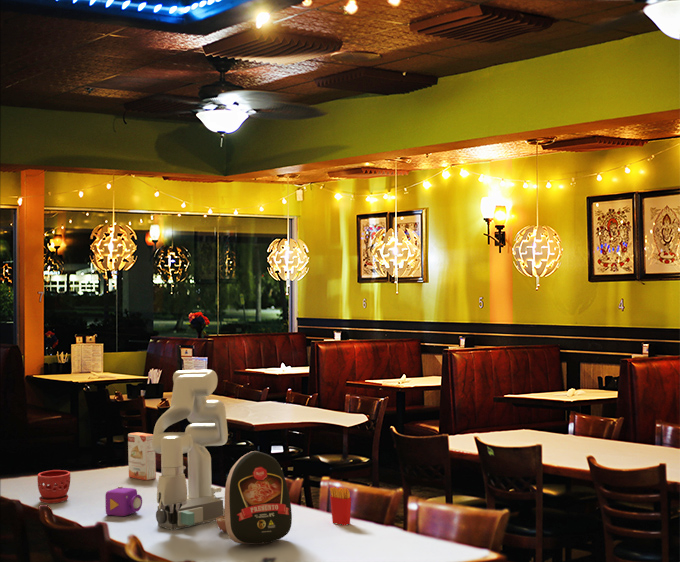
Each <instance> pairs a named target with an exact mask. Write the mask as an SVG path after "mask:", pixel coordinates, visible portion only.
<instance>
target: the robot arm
mask: <svg viewBox="0 0 680 562" xmlns="http://www.w3.org/2000/svg"><path fill="white" fill-rule="evenodd" d="M172 381H173V382H172V383H173V387H172V394H171V400H170V406H169V408H168V409H167V410H166V411H165V412H164V413H162V414H161V416H160V417H159V418H158V419H157V420H156V423H155V426H154V428H153V440H152V447H153V450H154V451H155V454H160V456H161V457H160V459H161V460H160V461H161V462H160V463H161V464H160V465H161V471H160V472H161V474H160V475H159V477H158V481H157V491H156V502H157V504H158V506H159V508H160V509H165V510H166V511H167V512H168V521H169V523H170V524H177V520H178V512H179V509H180V508H181V506H183V505H185V504H187V501H186V500H191V499H197V498H202V497H207V496H209V497H213V498H216V495H215V494H216V493H221V492H222V490H223V489H222V487H221V486H218V487H215V486H212V457H211V454H210V452H209V451H208V449H207V448H206V447H219V446H223V445H225V444H227V442H228V437H229V436H228V435H229V433H228V431H229V429H228V422H227V412H226V406H225V404H224V402H223V401H222V400H219V399H207V398H206V397H209V396H211V395H212V394H213V392H215V390H216V389H217V386H218V381H219V380H218V375H217V373H216V371H214V370H213V369H182V370H180V369H179V370H176V371H175V372H173V376H172ZM184 419H187V421H188V422H189V423H190V424H188V425H187V426H186V428H185V431H184V432H181V431H178V432H176V431H175V432H174V431H171V432H165V430H166V429H168V427H170V426H172V425H173V424H176V423H178V422H180V421H183V420H184ZM183 454H187V467H186V466H185V465H184V455H183ZM185 470H187V479H186V476H185V475H186V474H185V473H184V471H185ZM187 481H188V483H187ZM187 484H188V485H187ZM172 504H173V505H172Z"/></svg>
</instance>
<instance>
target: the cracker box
mask: <svg viewBox="0 0 680 562" xmlns="http://www.w3.org/2000/svg"><path fill="white" fill-rule="evenodd" d="M152 440H153V434H152V433H145V432H139V431H138V432H130V433H128V434H127V446H128V447H127V448H128V449H127V451H128V452H127V453H128V457H127V459H128V477H129V478H132V479H136V480H142V481H150V480H154V479H156V478H157V465H156V463H157V461H156V452H155V451H154V450H153V447H152Z"/></svg>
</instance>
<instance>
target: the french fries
mask: <svg viewBox="0 0 680 562" xmlns="http://www.w3.org/2000/svg"><path fill="white" fill-rule="evenodd" d="M329 491H330V496H329V498H330V507H331V508H330V509H331V520H332V524H333V523H337V524H336V525H338V524H342V525H341V526H348V525H347V524H349V525H351V512H352V511H351V510H352V509H351V508H352V497H351V492H350V490H349V489H348V488H347V487H341V486H339V487H337V486H332V487H329Z"/></svg>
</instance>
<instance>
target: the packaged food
mask: <svg viewBox="0 0 680 562" xmlns="http://www.w3.org/2000/svg"><path fill="white" fill-rule="evenodd" d="M287 485H288V484H287V481H286V477H285V475H284V471H283V469H282V467H281V465H280V464H279V462H278V461H277V459H276V458H275V457H273V456H272V455H270V454H268V453H264V452H260V451H257V450H254V451H250V452H247V453H246V454H244V455H243V456H241V457H240V458H239V459H238V460H237V461H236V462H235V463H234V464H233V465H232V467H231V468H230V470H229V473H228V476H227V477H226V482H225V489H224V515H225V524H226V530H227V532H226V534H227V536H228V537H229V538H230V541H232V542H233V543H236V544H240V545H243V544H245V545H247V544H251V545H252V544H254V545H258V544H270V543H273V542H275V541H278V540H282V539H283V538H284V537H286V536H287V535H288V534H289V532H290V531H291V527H292V523H293V522H292V521H293V515H292V514H293V513H292V504H291V498H290V493H289V489H288V486H287Z"/></svg>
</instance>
